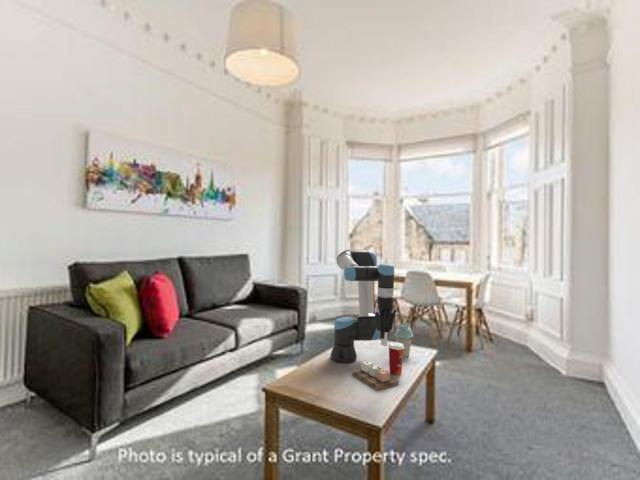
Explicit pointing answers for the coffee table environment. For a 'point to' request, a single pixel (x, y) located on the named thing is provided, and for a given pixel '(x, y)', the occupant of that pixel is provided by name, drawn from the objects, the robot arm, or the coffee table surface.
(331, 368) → the coffee table surface
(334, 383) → the coffee table surface
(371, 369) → the tile two
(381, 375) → the tile three
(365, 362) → the tile one
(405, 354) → the ice cream cone
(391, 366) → the coffee cup
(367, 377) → the tile board
